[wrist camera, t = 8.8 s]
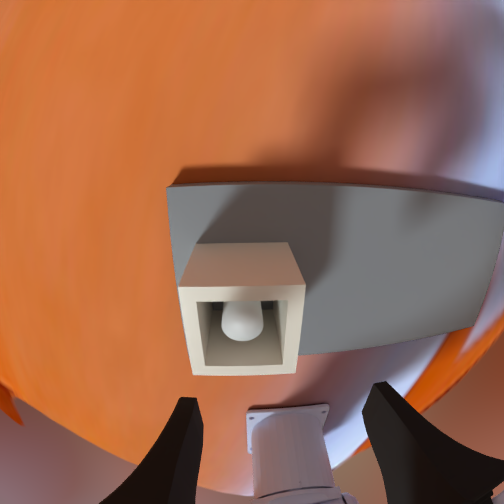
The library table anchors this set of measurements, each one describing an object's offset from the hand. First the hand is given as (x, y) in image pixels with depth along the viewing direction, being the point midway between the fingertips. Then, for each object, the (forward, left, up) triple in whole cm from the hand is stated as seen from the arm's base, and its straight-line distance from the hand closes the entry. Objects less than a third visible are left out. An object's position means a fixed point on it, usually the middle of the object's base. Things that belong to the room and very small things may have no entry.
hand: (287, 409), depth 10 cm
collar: (+2, +2, -8) cm, 8 cm away
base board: (+1, -7, -9) cm, 12 cm away
